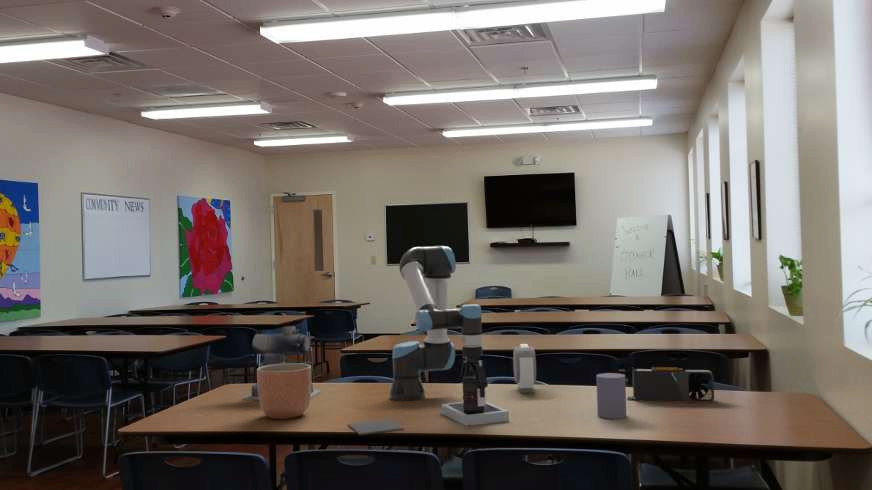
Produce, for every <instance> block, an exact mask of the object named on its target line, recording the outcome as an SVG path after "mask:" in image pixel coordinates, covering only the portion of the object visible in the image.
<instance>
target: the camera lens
mask: <svg viewBox="0 0 872 490" xmlns="http://www.w3.org/2000/svg"><path fill="white" fill-rule="evenodd" d="M477 387H478V384H477V381H476V378H475V376H474V375H471V376H465V377H463V382H462V402H463V408H464V412H463V413H465V414H467V415H471V414H480V413H485V412H484V406H478V393H477Z"/></svg>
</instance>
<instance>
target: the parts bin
mask: <svg viewBox="0 0 872 490" xmlns="http://www.w3.org/2000/svg"><path fill="white" fill-rule="evenodd" d="M440 406H441V407H440V408H441V414H442V415H443V416H446V417H448V418H450V419H451V420H454V421H455V422H457V423H459V424H461V425H462V426H464V425H465V427H469V426H468V425H471V426H476V425H477V426H478V424H479V425H486V424H494V422H495V423H503V422H509V421H510V411H509V410H507V409H504V408H502V407H500V406H498V405H495V404H493V403H491V402H488V401H486V400H485V406H484V413H480V414H471V415H467V414H465V413H464V408H463V401H459V402H458V401H457V402H451V403H441V405H440Z"/></svg>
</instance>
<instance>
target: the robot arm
mask: <svg viewBox="0 0 872 490" xmlns="http://www.w3.org/2000/svg"><path fill="white" fill-rule="evenodd" d="M456 265H457V264H456V259H455V254H454V252H453V250H452V248H450V246H445V245H435V246H434V245H433V246H432V245H431V246H414V247H411V248H409V249H408V250H407V251H405V252H404V254H403V255H402V256H401V259H400V262H399V272H400V276H401V277H402V279H403V280H404V281H406V285H407V286H408V287H407V288H408V290H409V292H410V295H411V297H412V300H413V303H414V305H415V308H416V310H417V311H416V312H415V315H414V316H415V317H414V322H415V327H416V328H417V330H419V331H426V336H425V337H424V339H423V343H422V344H421V343H420V342H419V341H418V340H415V341H414V340H413V341H412V340H411V341H406V342H401V343H398V344H395V345H394V346H393V348H392V357H391V358H392V377H393V380H392V384H391V387H390V391H389V399H391V400H394V401H417V400H421V399H423V398H425V397H426V391H425V388H424V385H423V383H422V380H421V373H422V372H433V371H445V370H450V369H451V368H452V366H453V365H454V363H455V358H456V350H455V349H456V347H455V344H454V343H453V342H451V339H450V338H449V337H448V330H449V329H452V330H453V329H461V338H460V339H461V342H462V343H461V344H462V348H461V349H462V365H461V370H460V375H459V380H460V381H461V382H462V383H463V377H465V376H472V374H474V375H473V376H475V378H476V381H477V384H478V387H477V393H478V406H485V401H486V389H487V388H488V387H489V384H488V383H489V382H488V379H487V375H486V372H485V371H486V370H485V367H484V360H480V358H481V357H483V346H482V345H483V331H482V329H483V327H482V325H483V324H482V316H483V315H482V309H481V307H482V306H481V305H480V304H477V303H475V304H474V303H473V304H472V303H469V304H463V305H461V306H460V307H456V308H448V281H449V280H450V279H451V277H452V274H453V273H455V271H456V269H457V266H456Z"/></svg>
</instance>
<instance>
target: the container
mask: <svg viewBox="0 0 872 490" xmlns="http://www.w3.org/2000/svg"><path fill="white" fill-rule="evenodd" d="M626 396H627V394H626V375H625V374H623V373H617V372H616V373H615V372H604V373H598V374H596V404H597V416H598V418H601V417H602V418H601V419H605V418H608V419H607V420H619V418H621V419H623V418H626V417H627V397H626Z"/></svg>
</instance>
